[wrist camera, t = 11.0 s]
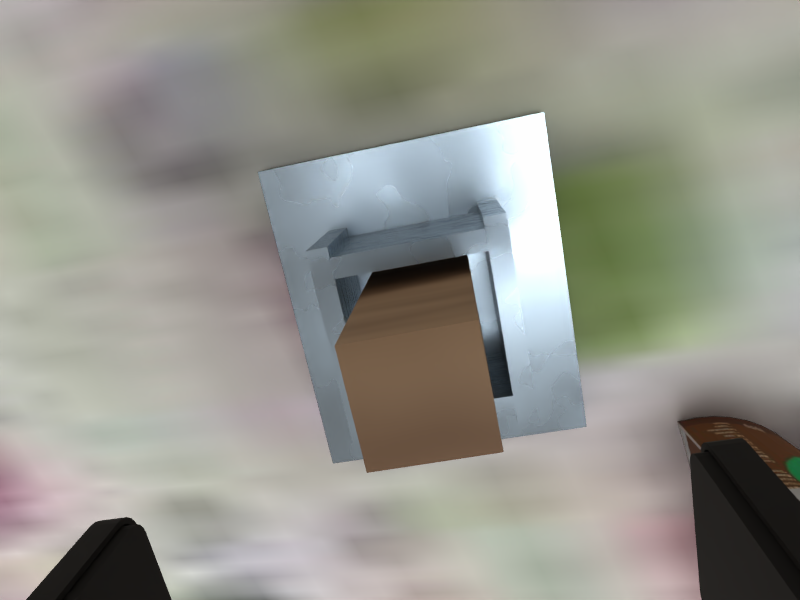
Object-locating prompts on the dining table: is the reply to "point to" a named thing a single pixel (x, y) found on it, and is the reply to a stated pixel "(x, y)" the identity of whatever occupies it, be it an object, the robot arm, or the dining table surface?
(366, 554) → the dining table surface
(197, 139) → the dining table surface
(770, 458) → the food container
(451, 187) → the cup bracket
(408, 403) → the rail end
